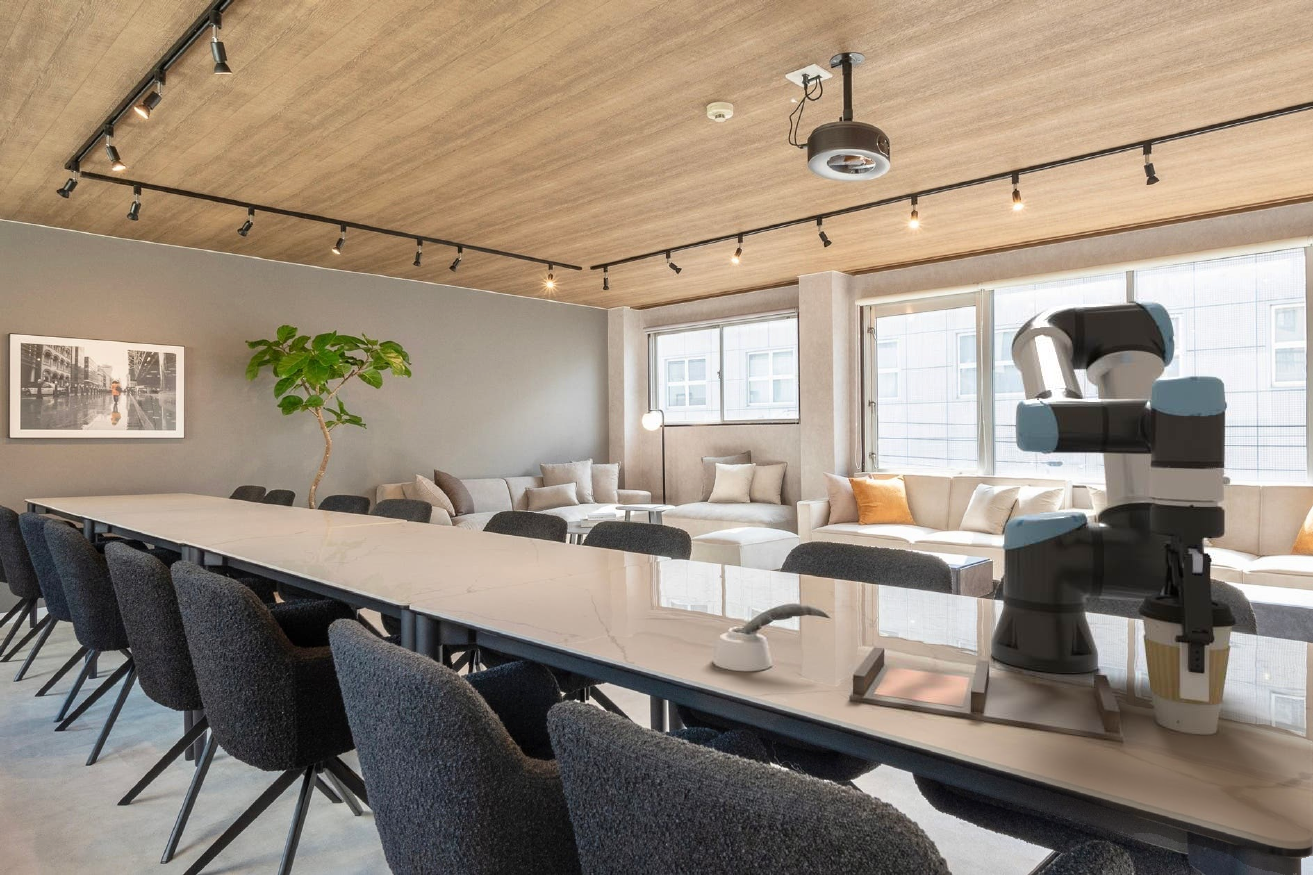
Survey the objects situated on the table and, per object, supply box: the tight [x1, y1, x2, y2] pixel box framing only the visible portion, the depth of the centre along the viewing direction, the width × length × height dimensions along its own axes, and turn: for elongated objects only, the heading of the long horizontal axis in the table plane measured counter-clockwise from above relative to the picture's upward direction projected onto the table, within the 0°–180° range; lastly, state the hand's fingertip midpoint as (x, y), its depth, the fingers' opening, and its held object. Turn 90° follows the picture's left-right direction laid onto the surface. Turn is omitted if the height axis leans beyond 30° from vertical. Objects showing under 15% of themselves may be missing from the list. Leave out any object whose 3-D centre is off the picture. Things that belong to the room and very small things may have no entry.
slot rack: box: [848, 646, 1124, 743], centre depth 103 cm, size 31×18×3 cm, turn 65°
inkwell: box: [712, 603, 831, 673], centre depth 117 cm, size 9×18×10 cm, turn 69°
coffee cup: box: [1138, 595, 1237, 735], centre depth 94 cm, size 10×10×15 cm
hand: (1185, 686), depth 94 cm, fingers closed on coffee cup, 10 cm apart
